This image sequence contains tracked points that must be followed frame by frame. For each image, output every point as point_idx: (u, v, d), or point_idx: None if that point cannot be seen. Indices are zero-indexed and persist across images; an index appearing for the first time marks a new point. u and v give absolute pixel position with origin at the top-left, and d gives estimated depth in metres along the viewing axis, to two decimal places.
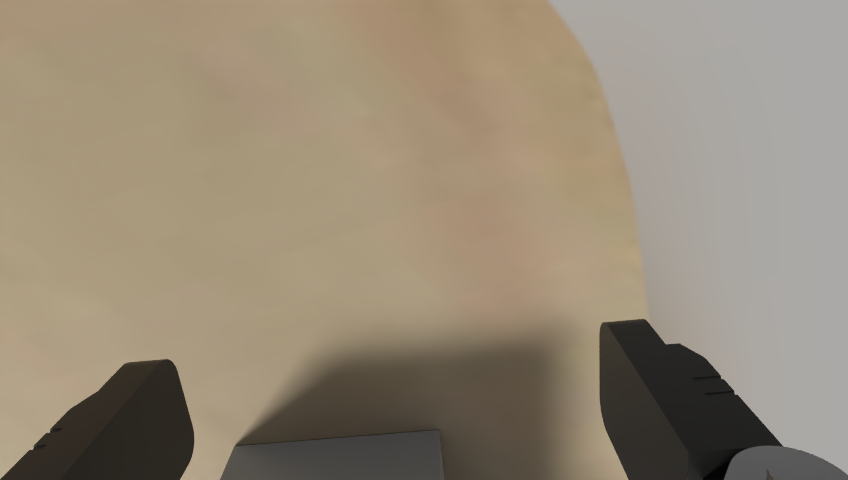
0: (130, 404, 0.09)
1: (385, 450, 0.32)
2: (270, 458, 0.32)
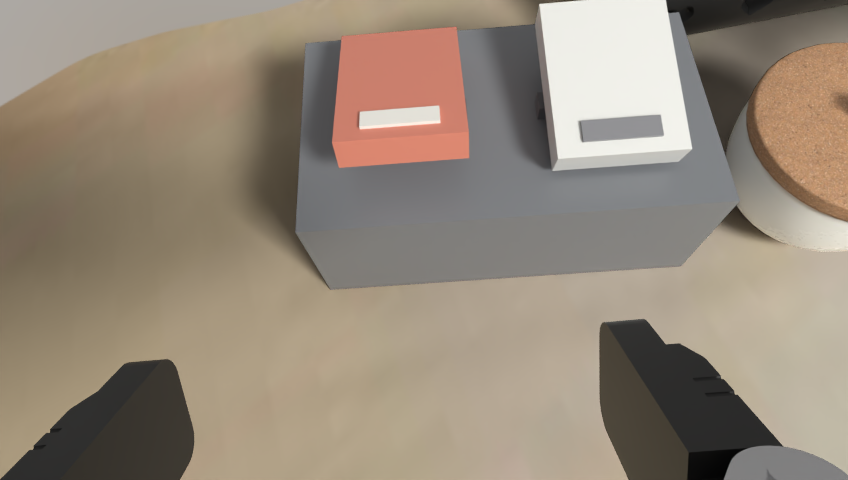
0: (130, 404, 0.09)
1: None
2: None
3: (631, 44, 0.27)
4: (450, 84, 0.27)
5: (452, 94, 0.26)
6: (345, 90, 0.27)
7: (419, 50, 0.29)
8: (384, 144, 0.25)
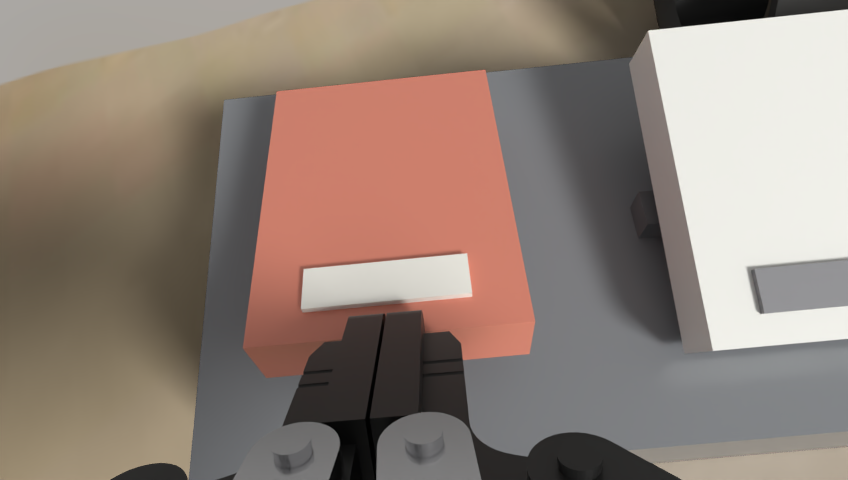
0: (378, 348, 0.10)
1: None
2: None
3: (836, 106, 0.14)
4: (485, 198, 0.13)
5: (491, 222, 0.13)
6: (278, 211, 0.14)
7: (420, 120, 0.15)
8: None
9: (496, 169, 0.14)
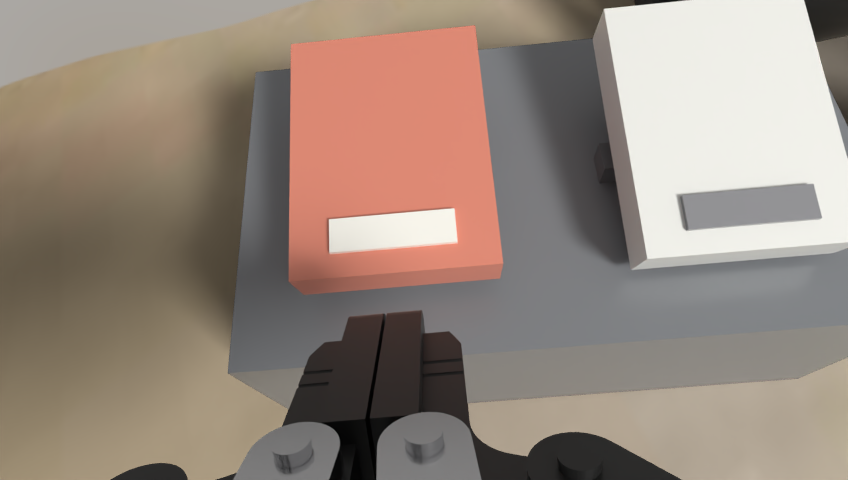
0: (378, 348, 0.10)
1: None
2: None
3: (754, 69, 0.17)
4: (470, 157, 0.17)
5: (474, 179, 0.17)
6: (304, 166, 0.17)
7: (417, 79, 0.18)
8: (371, 278, 0.16)
9: (480, 130, 0.17)
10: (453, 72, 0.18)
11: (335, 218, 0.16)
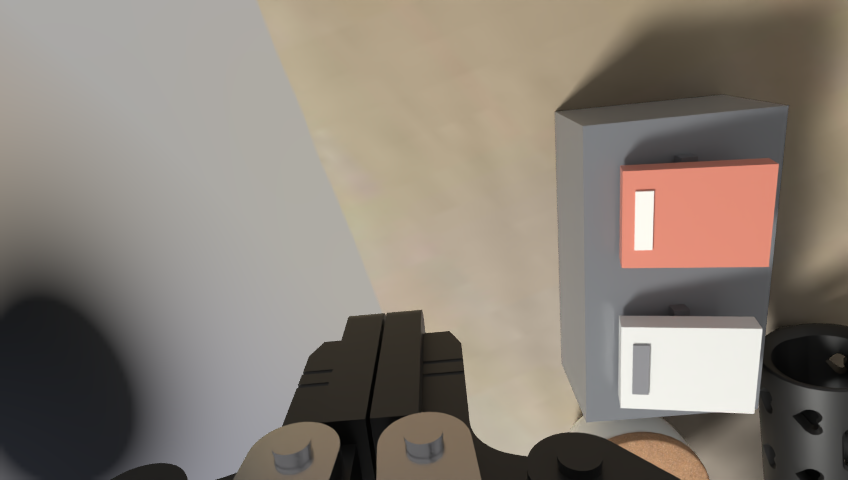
0: (378, 348, 0.10)
1: (687, 100, 0.40)
2: (593, 109, 0.40)
3: (711, 385, 0.36)
4: (681, 258, 0.34)
5: (668, 259, 0.34)
6: (688, 175, 0.32)
7: (736, 235, 0.33)
8: (621, 207, 0.34)
9: (696, 264, 0.34)
10: (737, 253, 0.33)
11: (654, 193, 0.33)
